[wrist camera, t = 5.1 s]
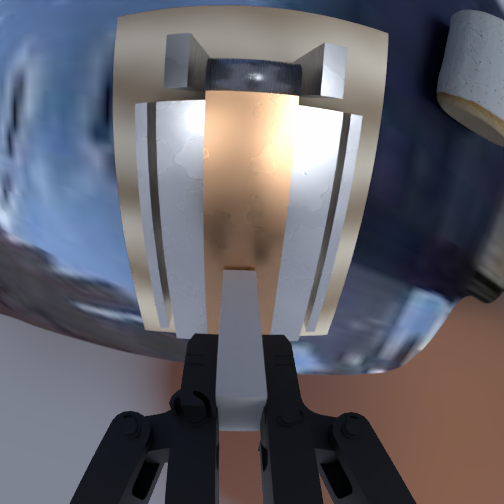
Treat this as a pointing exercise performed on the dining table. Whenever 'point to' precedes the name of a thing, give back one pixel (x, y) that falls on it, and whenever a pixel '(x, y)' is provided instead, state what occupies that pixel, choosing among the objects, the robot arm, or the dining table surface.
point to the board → (152, 90)
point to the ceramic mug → (474, 74)
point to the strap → (247, 174)
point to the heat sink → (191, 191)
